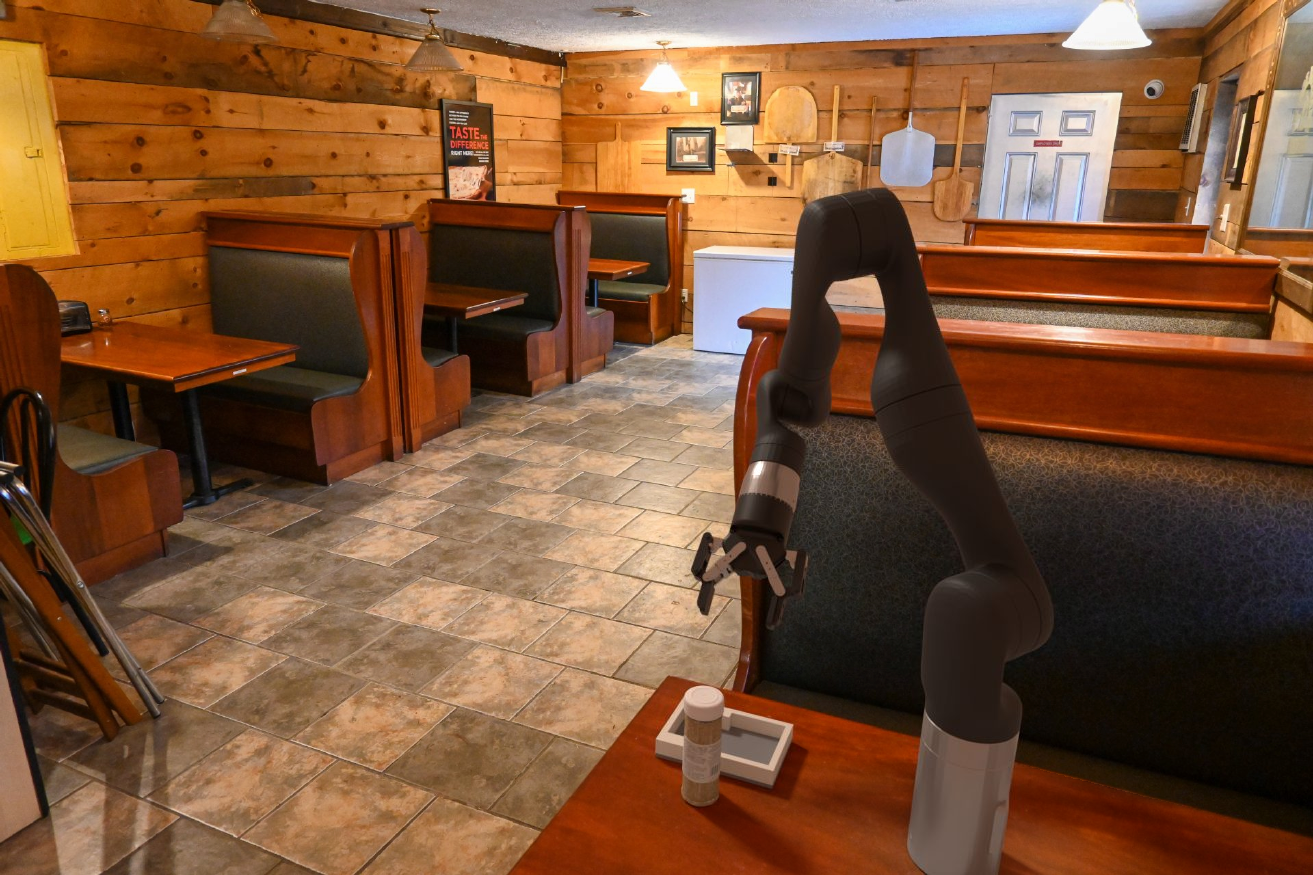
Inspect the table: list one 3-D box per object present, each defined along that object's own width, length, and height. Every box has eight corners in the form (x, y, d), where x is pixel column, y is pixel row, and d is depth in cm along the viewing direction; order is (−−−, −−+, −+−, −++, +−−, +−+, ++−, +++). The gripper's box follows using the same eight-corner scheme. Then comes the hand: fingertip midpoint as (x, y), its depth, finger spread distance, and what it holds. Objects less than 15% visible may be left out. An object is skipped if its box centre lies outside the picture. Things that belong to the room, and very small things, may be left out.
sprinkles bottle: (701, 777, 104) (705, 679, 100) (727, 797, 101) (733, 697, 97) (672, 792, 101) (675, 692, 98) (698, 814, 98) (703, 711, 94)
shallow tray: (792, 741, 111) (793, 724, 111) (772, 788, 103) (773, 770, 102) (683, 712, 117) (683, 696, 116) (655, 756, 108) (655, 738, 107)
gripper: (709, 482, 113) (675, 599, 106) (817, 499, 108) (788, 622, 101) (720, 507, 119) (688, 618, 112) (822, 524, 114) (796, 642, 107)
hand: (736, 620), depth 107 cm, fingers open, 8 cm apart
